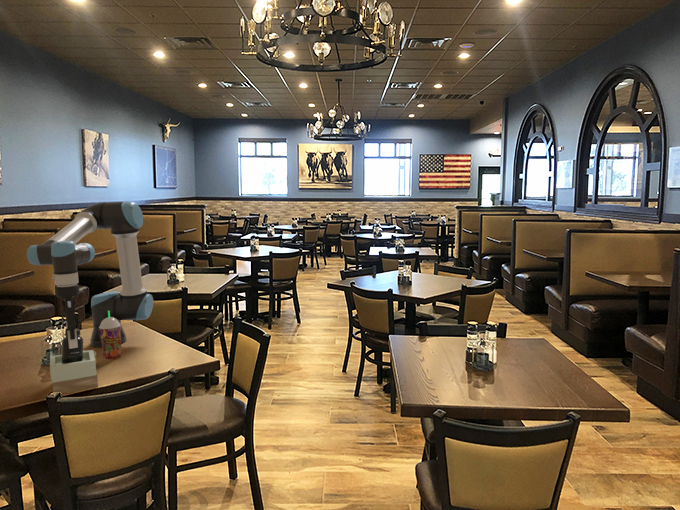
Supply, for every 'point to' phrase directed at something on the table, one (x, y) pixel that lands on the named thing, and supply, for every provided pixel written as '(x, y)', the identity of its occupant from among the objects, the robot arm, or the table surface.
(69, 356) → the supplement bottle
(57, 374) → the tower top block
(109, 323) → the smoothie
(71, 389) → the tower base block
